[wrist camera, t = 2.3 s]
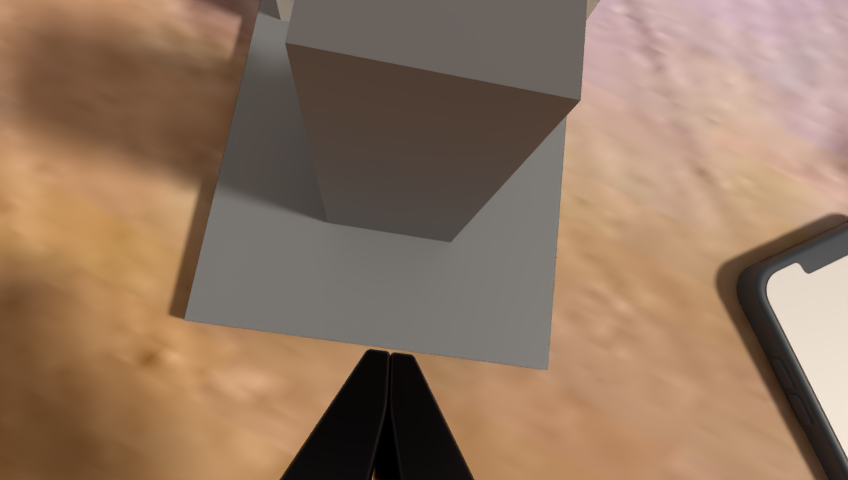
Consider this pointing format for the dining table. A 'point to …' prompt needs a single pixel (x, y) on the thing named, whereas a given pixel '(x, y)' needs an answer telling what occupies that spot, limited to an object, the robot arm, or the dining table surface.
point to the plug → (429, 102)
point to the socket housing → (368, 242)
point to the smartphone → (807, 335)
